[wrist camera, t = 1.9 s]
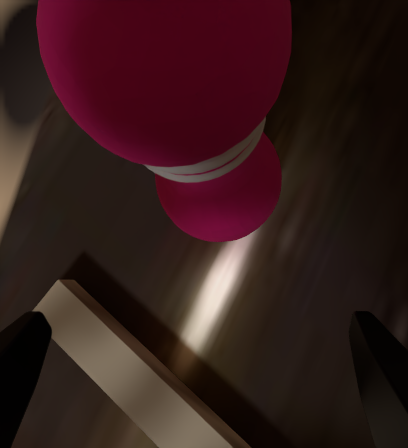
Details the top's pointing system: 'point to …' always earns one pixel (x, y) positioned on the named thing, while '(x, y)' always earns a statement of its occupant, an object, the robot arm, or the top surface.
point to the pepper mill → (178, 97)
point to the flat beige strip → (132, 373)
